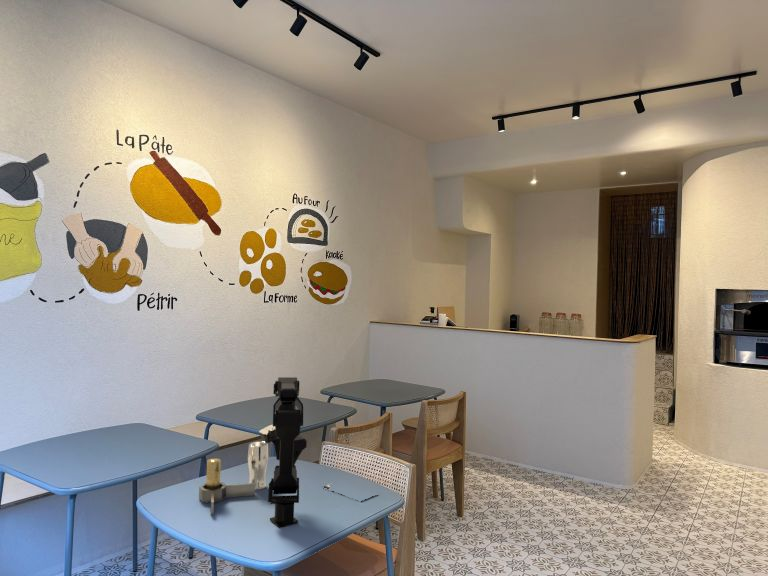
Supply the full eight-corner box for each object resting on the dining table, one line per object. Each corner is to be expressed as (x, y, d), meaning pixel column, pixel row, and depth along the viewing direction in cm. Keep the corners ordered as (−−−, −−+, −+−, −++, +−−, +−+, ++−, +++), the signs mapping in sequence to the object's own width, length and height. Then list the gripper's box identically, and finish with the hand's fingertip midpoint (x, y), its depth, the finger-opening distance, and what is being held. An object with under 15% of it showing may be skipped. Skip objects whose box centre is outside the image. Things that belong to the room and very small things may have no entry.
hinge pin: (221, 499, 179) (222, 461, 179) (208, 502, 176) (209, 463, 176) (217, 495, 182) (218, 457, 182) (203, 497, 180) (205, 459, 180)
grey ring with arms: (265, 503, 177) (266, 490, 177) (211, 515, 166) (211, 502, 166) (245, 487, 190) (245, 475, 190) (193, 497, 179) (193, 485, 179)
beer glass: (254, 491, 186) (255, 448, 186) (242, 486, 191) (244, 443, 191) (271, 486, 191) (272, 444, 191) (259, 481, 196) (261, 440, 196)
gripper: (251, 412, 179) (249, 459, 179) (276, 425, 164) (274, 477, 164) (282, 409, 186) (280, 454, 186) (308, 421, 171) (306, 470, 171)
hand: (284, 463), depth 177 cm, fingers open, 9 cm apart
